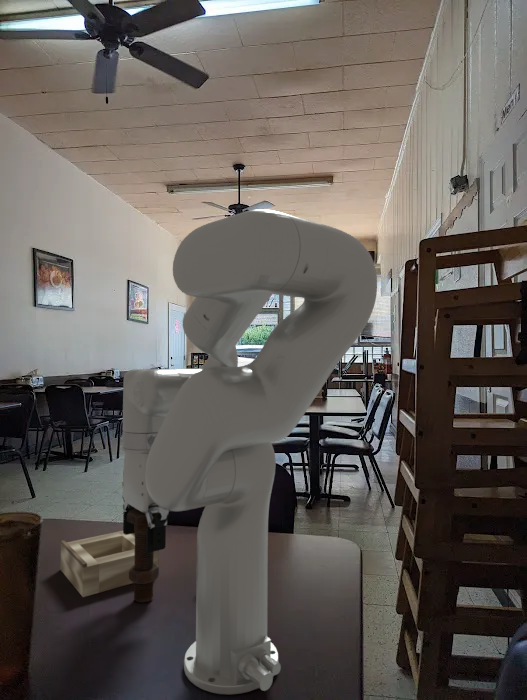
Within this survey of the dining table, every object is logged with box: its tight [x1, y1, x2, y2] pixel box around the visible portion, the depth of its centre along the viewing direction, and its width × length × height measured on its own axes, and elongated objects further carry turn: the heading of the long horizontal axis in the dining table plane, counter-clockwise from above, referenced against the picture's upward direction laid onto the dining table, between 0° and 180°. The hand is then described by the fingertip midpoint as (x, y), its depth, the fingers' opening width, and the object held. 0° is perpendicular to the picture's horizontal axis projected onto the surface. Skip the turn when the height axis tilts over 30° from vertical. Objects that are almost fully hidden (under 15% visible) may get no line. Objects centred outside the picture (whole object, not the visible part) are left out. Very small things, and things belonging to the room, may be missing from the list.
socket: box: [60, 530, 160, 598], centre depth 94 cm, size 14×14×6 cm
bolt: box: [127, 506, 160, 603], centre depth 83 cm, size 6×5×15 cm
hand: (143, 541), depth 83 cm, fingers open, 9 cm apart
